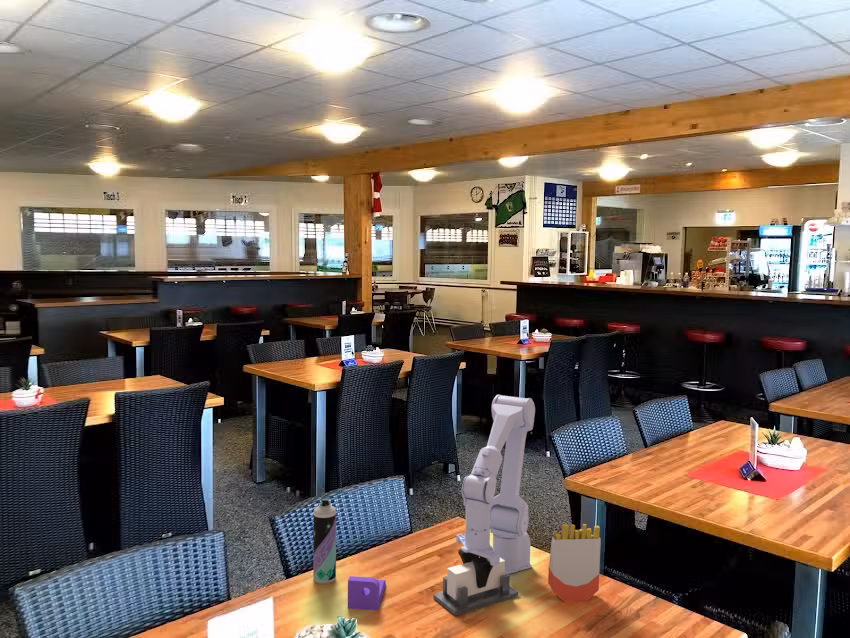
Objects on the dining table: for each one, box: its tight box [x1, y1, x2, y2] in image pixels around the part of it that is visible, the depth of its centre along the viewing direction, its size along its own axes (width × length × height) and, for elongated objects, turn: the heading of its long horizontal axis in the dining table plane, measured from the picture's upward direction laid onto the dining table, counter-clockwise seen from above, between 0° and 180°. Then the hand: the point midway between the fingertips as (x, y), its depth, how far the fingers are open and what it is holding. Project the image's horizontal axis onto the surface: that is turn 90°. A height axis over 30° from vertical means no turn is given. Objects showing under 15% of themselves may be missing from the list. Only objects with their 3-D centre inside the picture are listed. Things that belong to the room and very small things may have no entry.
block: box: [446, 558, 505, 600], centre depth 156 cm, size 14×4×6 cm, turn 122°
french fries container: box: [547, 523, 602, 602], centre depth 157 cm, size 5×11×18 cm, turn 95°
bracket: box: [347, 575, 387, 611], centre depth 156 cm, size 12×7×7 cm, turn 175°
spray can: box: [312, 498, 337, 585], centre depth 163 cm, size 6×6×20 cm
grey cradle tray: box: [432, 574, 520, 617], centre depth 156 cm, size 18×9×5 cm, turn 121°
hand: (476, 583), depth 156 cm, fingers closed on block, 3 cm apart
